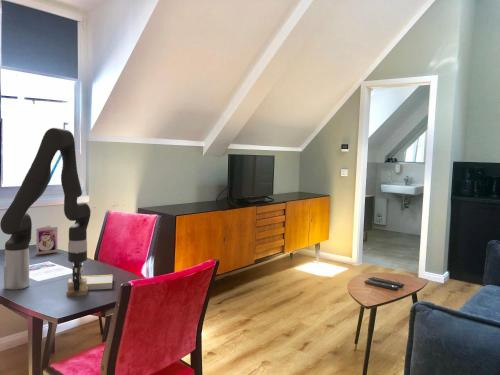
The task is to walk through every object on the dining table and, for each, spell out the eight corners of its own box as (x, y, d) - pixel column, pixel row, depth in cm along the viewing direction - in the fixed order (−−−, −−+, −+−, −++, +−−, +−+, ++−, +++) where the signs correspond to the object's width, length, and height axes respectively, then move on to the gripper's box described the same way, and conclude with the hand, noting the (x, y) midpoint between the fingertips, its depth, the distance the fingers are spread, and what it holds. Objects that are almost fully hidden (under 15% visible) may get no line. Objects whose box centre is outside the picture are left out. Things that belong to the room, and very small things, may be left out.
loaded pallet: (66, 296, 172) (66, 282, 171) (67, 292, 177) (68, 278, 176) (86, 295, 174) (86, 281, 174) (87, 291, 179) (87, 277, 179)
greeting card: (36, 254, 234) (36, 229, 233) (33, 252, 239) (33, 227, 238) (57, 252, 242) (57, 227, 240) (53, 249, 247) (53, 225, 246)
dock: (78, 290, 179) (78, 284, 179) (81, 281, 191) (81, 276, 191) (112, 288, 184) (112, 282, 183) (112, 280, 195) (112, 274, 195)
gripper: (70, 246, 180) (70, 282, 181) (65, 254, 166) (65, 293, 168) (88, 245, 182) (88, 281, 184) (85, 253, 168) (85, 292, 170)
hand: (77, 287), depth 176 cm, fingers open, 7 cm apart
